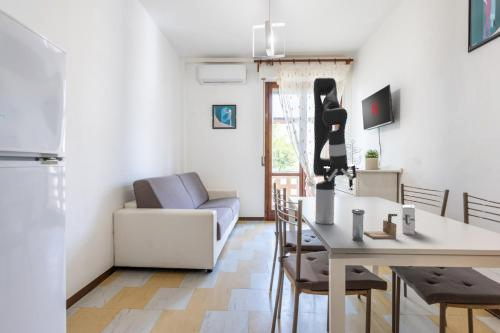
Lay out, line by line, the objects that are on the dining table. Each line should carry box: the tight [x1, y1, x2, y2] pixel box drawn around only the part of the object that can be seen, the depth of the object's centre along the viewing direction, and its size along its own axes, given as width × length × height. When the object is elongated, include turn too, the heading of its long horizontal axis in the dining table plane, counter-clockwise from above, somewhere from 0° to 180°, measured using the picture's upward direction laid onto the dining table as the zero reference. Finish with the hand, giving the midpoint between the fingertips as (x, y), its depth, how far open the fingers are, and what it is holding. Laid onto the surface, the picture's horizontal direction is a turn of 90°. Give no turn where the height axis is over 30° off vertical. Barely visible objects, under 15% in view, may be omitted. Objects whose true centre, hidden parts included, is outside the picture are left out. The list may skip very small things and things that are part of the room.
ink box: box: [401, 204, 416, 236], centre depth 129 cm, size 9×5×12 cm, turn 149°
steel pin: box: [351, 208, 366, 242], centre depth 115 cm, size 5×5×12 cm
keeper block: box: [363, 213, 398, 240], centre depth 121 cm, size 8×12×10 cm, turn 94°
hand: (340, 187), depth 132 cm, fingers open, 8 cm apart
